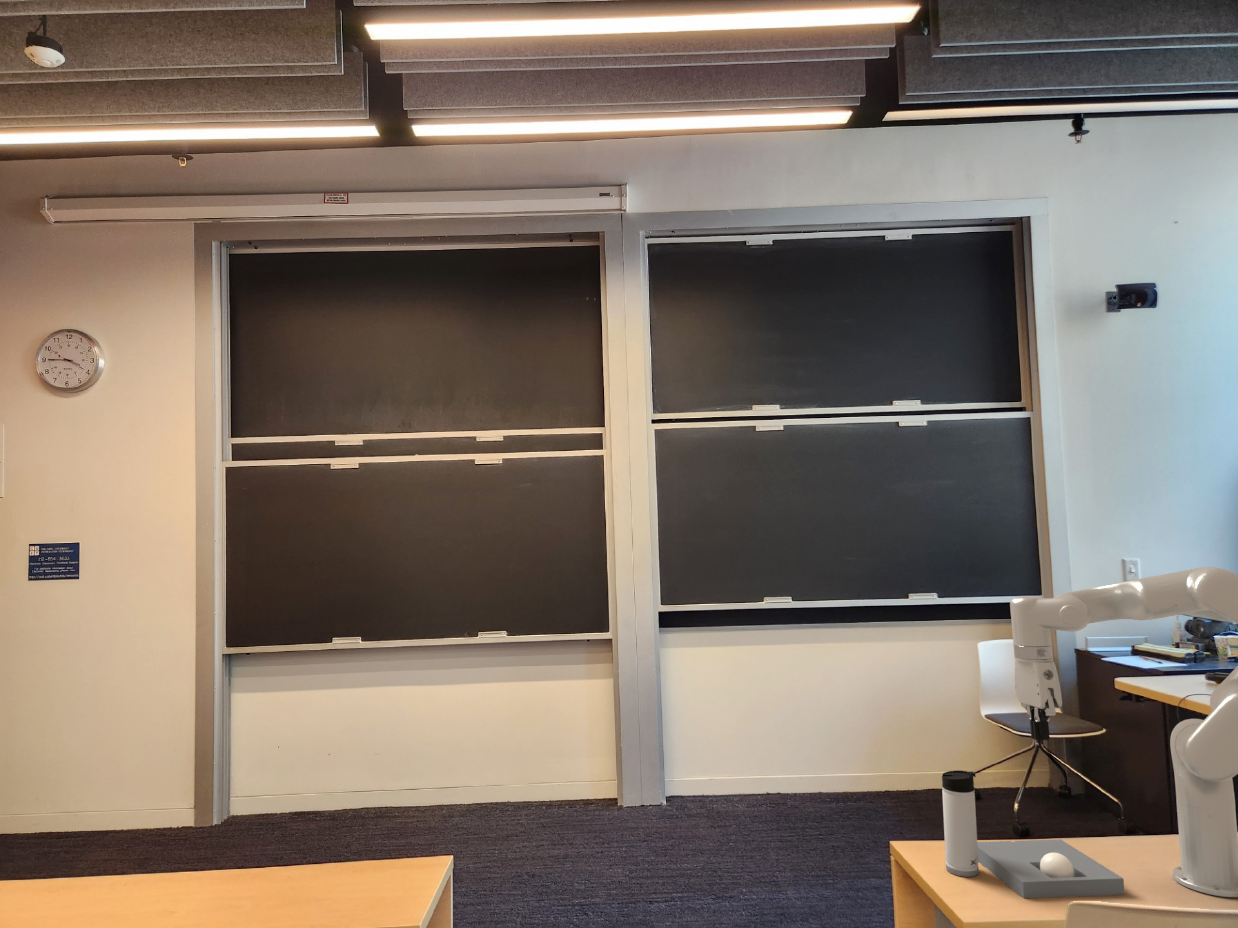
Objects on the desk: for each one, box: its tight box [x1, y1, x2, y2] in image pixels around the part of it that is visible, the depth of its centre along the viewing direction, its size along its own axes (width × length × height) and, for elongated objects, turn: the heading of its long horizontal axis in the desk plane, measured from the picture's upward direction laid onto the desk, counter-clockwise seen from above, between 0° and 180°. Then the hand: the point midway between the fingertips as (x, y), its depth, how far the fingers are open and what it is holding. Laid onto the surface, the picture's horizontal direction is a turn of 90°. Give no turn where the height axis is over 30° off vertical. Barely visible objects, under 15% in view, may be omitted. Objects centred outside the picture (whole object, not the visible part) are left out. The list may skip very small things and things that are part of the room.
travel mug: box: [941, 769, 980, 878], centre depth 166 cm, size 6×7×20 cm
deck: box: [977, 838, 1125, 899], centre depth 163 cm, size 20×20×3 cm
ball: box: [1040, 853, 1074, 878], centre depth 158 cm, size 6×6×6 cm
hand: (1040, 738), depth 172 cm, fingers closed
